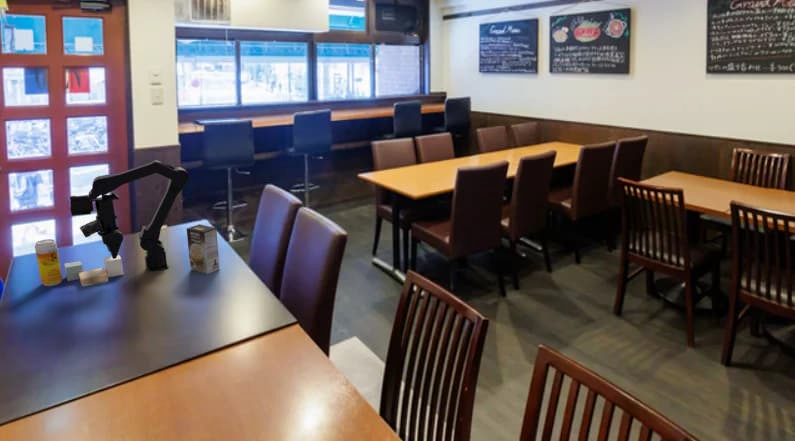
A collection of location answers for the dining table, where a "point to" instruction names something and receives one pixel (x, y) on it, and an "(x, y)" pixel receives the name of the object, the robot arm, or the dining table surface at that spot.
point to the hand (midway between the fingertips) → (112, 254)
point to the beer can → (48, 262)
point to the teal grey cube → (73, 270)
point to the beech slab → (93, 277)
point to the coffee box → (203, 248)
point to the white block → (113, 266)
